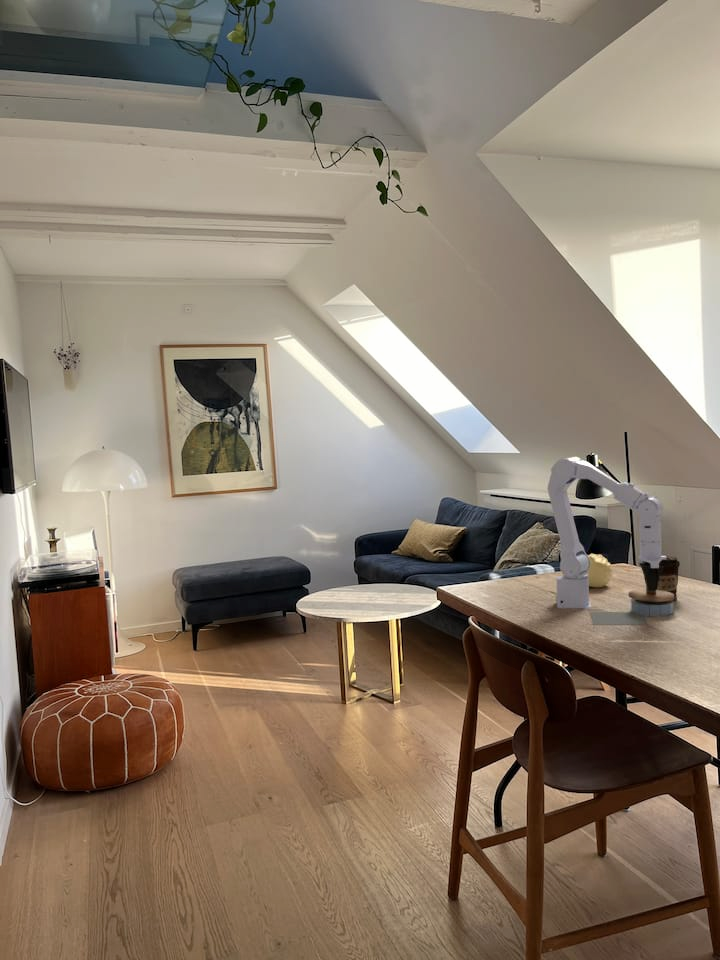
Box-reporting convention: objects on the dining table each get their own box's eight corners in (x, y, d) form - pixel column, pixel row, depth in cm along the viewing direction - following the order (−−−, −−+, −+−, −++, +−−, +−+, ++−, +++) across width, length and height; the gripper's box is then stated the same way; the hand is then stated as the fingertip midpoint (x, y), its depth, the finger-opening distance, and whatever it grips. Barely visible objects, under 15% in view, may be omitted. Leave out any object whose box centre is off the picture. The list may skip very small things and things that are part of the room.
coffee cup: (683, 604, 223) (682, 560, 223) (653, 604, 225) (652, 560, 224) (677, 597, 232) (676, 555, 231) (648, 597, 234) (647, 555, 233)
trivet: (593, 626, 204) (593, 624, 204) (589, 613, 218) (589, 611, 218) (648, 626, 201) (648, 625, 201) (641, 613, 215) (641, 612, 215)
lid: (633, 601, 210) (633, 580, 209) (624, 592, 222) (624, 572, 221) (679, 601, 208) (679, 580, 208) (668, 592, 220) (668, 572, 220)
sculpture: (612, 590, 247) (611, 556, 246) (573, 589, 251) (572, 556, 250) (612, 582, 258) (611, 550, 257) (575, 582, 261) (574, 550, 261)
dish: (634, 617, 211) (633, 605, 211) (629, 608, 222) (628, 596, 222) (676, 618, 209) (676, 605, 208) (669, 608, 219) (669, 596, 219)
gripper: (670, 544, 206) (671, 594, 207) (661, 536, 220) (662, 583, 221) (642, 545, 208) (643, 594, 208) (635, 537, 222) (636, 583, 223)
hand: (651, 589), depth 215 cm, fingers closed on lid, 3 cm apart
